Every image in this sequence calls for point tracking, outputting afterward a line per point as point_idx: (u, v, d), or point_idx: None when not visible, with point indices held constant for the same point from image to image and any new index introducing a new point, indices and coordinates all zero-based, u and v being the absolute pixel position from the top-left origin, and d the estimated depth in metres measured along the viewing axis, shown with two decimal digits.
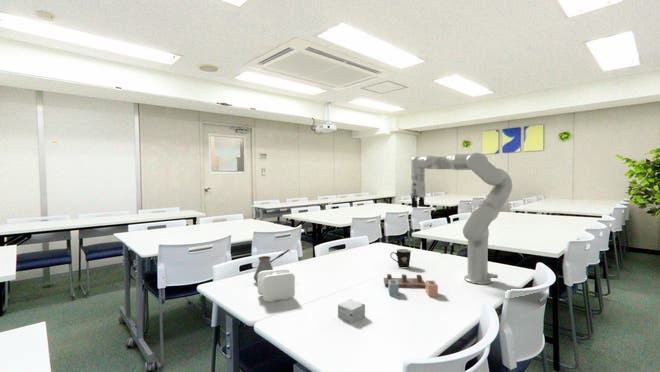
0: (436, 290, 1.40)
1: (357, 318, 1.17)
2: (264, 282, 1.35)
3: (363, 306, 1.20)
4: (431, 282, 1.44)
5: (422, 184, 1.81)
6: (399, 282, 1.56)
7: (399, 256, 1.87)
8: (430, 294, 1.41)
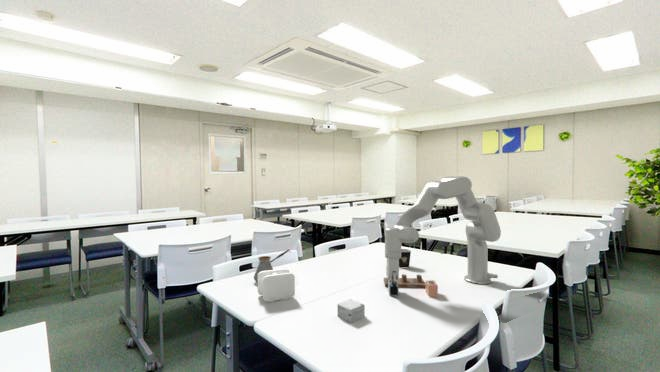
0: (436, 290, 1.40)
1: (356, 318, 1.17)
2: (264, 282, 1.35)
3: (362, 306, 1.20)
4: (431, 282, 1.44)
5: (387, 261, 1.46)
6: (399, 282, 1.56)
7: None
8: (430, 294, 1.41)
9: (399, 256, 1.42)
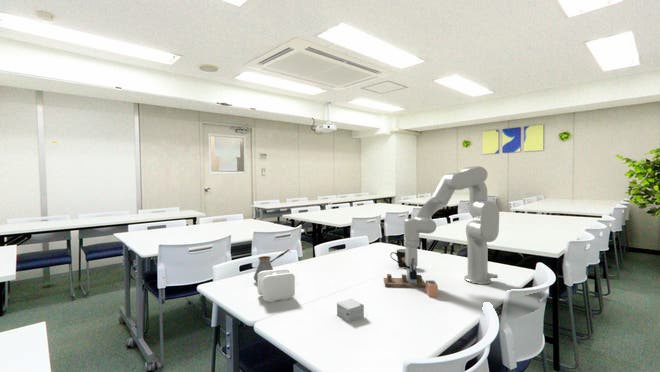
0: (436, 290, 1.40)
1: (354, 318, 1.18)
2: (264, 282, 1.35)
3: (361, 306, 1.20)
4: (431, 282, 1.44)
5: (406, 250, 1.58)
6: (399, 282, 1.56)
7: (399, 256, 1.87)
8: (430, 294, 1.41)
9: (417, 245, 1.55)
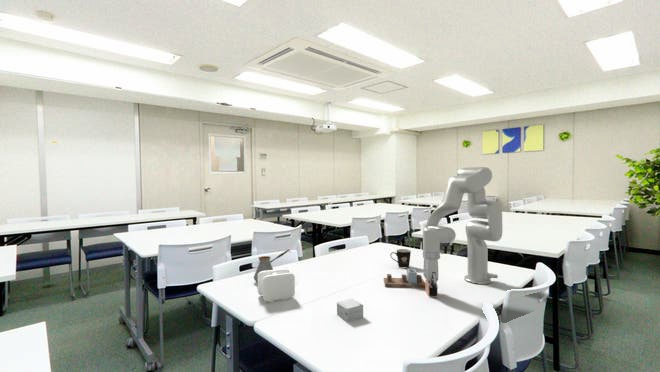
0: None
1: (353, 317, 1.18)
2: (264, 282, 1.35)
3: (361, 306, 1.20)
4: None
5: (425, 262, 1.44)
6: (399, 282, 1.56)
7: (399, 256, 1.87)
8: None
9: (438, 257, 1.41)
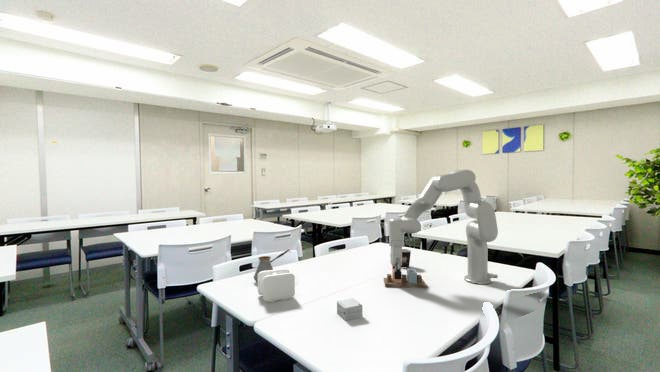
0: None
1: (351, 317, 1.18)
2: (264, 282, 1.35)
3: (360, 306, 1.20)
4: None
5: (391, 250, 1.59)
6: None
7: None
8: (395, 280, 1.55)
9: (402, 244, 1.55)
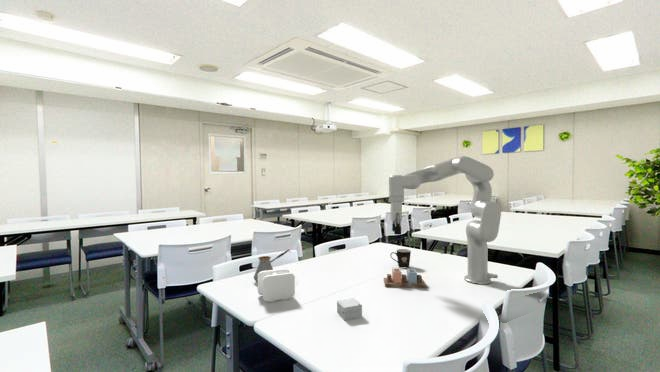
0: (400, 277, 1.55)
1: (351, 317, 1.18)
2: (264, 282, 1.35)
3: (359, 306, 1.20)
4: (396, 270, 1.58)
5: None
6: None
7: (399, 256, 1.87)
8: (395, 280, 1.55)
9: (402, 200, 1.55)
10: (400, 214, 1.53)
